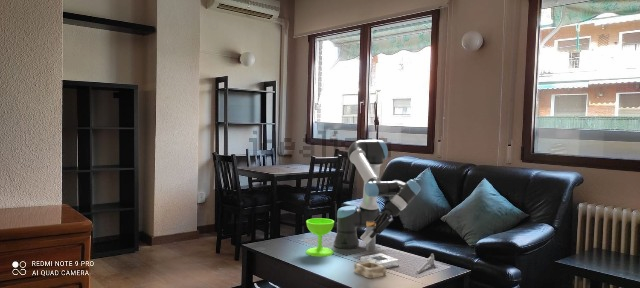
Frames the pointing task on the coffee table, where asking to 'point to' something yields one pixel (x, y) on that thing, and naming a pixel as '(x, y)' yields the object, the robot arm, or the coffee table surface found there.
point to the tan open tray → (370, 269)
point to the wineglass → (320, 235)
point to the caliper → (426, 263)
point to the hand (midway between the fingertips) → (363, 240)
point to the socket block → (381, 260)
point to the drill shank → (370, 226)
